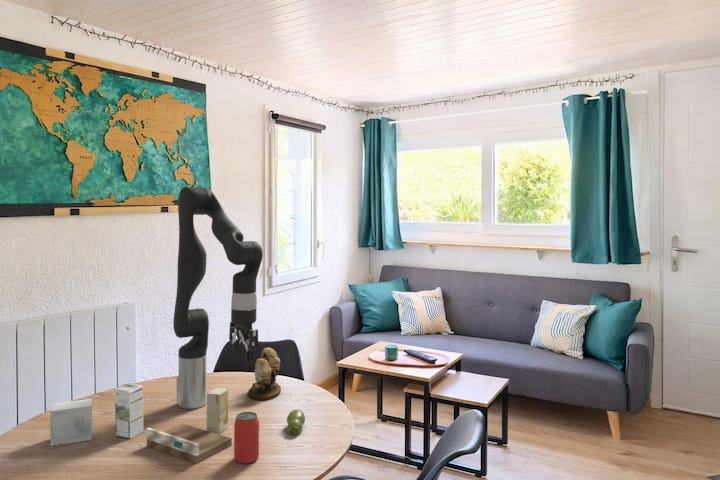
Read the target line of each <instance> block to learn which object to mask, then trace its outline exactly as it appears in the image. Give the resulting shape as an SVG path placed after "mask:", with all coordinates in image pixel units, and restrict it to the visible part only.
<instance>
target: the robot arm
mask: <svg viewBox="0 0 720 480" xmlns="http://www.w3.org/2000/svg"><path fill="white" fill-rule="evenodd" d="M177 200H178V201H177V208H178V209H177V211H178V231H179V232H178V254H177V281H176V282H177V283H176V294H175V295H176V297H175V303H174V304H175V305H174V313H173V331H174V334H175V336H176V337H177V338H179V339H181V338H182V339H183V338H184V339H185V338H190V337H192V338H191V339H190V340H189V341H188V342H187V343H185V344H184V345H181V346H179V348H178V376H177V377H176V405H178V407H179V408H180V409H185V410H187V409H189V410H191V409H192V410H193V409H200V408H201V407H204V406H205V405H207V350H208V347H209V345H208V344H209V330H210V328H209V326H210V324H209V323H210V321H209V314H208V313H207V311H206V310H205V309H204V308H192V309H190V303H191V300H192V297H193V295H194V294H195V291H196V290H197V288H198V287H199V285H200V284H201V282H202V281H203V279H204V277H205V275H206V272H207V271H206V270H207V251H206V249H205V247H204V245H203V243H202V242H201V239H200V238H199V236H198V234H197V232H196V229H195V224H194V223H195V222H194V216H195V215H197V216H200V215H201V216H202V215H207V216H208V217H209V218H211V231H212V234H213V235H214V237H215V238H216V240H217V241H218V242H219V243H220V244H221V245H222V246H223V247H222V248H223V250H224V252H225V255H226V258H227V260H228V261H229V262H230V263H232V264H233V265H236V266H244V267H243V269H242V270H241V271H238V272H236V273H234V274H233V275H232V294H231V301H230V302H231V304H230V305H231V306H230V311H231V313H230V316H231V317H230V322H229V335H228V340H229V341H231V344H232V356H233V357H238V356H240V355H241V342H242V344H243V345H244V348H245V363H246V364H252V363H253V362H254V358H255V357H254V355H255V354H254V352H255V350H258V349H259V330H258V329H257V328H255V329H253V328H254V327H253V324H255V323H256V322H257V309H258V307H257V300H258V299H257V278H258V275H259V271H260V267H261V264H262V260H263V255H264V254H263V253H264V252H263V251H264V250H263V248H262V246H261V244H260V243H259V242H258V241H255V240H254V241H252V240H249V241H248V240H247V241H244V234H243V232H242V231H241V230H240V228H238V226H236V225H235V223H234V222H233V221H232V220H231V219H230V218H229V216H228V215H227V213H226V212H225V210H224V208H223V206H222V204H220V203H221V202H220V201H219V200H218V198H217V196H216V195H215V193H214V192H213V191H212V190H211V189H209V188H206V187H200V186H199V187H196V186H195V187H194V186H184V187H182V188H181V189H180V190H179V193H178V198H177Z"/></svg>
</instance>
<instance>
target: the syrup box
mask: <svg viewBox="0 0 720 480" xmlns="http://www.w3.org/2000/svg"><path fill="white" fill-rule="evenodd" d="M114 408H115V409H114V412H115V414H114V416H115V417H114V420H115V422H114V423H115V436H116V437H120V438H123V439H124V438H125V439H133V438H135V437H137V436H139V435H141V434H142V433H144V430H145V429H144V386H143V385H141V384H134V383H125V384H122V385H121V386H118V387H116V388H115V389H114Z"/></svg>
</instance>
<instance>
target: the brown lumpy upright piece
mask: <svg viewBox="0 0 720 480" xmlns="http://www.w3.org/2000/svg"><path fill="white" fill-rule="evenodd" d="M254 365H255V366H254V371H253V372H254V377H255V378H254V379H255V382H254V383H252V384H251V387H250V388H249V389H248V391H247V396H248V398H249V399H252V400H254V401H262V402H263V401H270V400H273V399H276V398H277V397H278V396H279V395H281V391H282V387H281V385H279V383H277V379H276V377H277V376H278V375H279V371H280V369H281V368H280V367H281V359H280V357H279V356H278V354H277V352H276V350H275V349H273V348H272V347H264V348H263V350H262V351H261V353H260V358H258V359H256V362H255V364H254Z"/></svg>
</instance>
